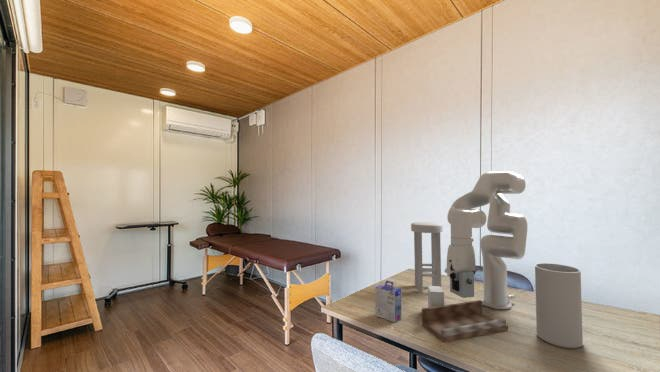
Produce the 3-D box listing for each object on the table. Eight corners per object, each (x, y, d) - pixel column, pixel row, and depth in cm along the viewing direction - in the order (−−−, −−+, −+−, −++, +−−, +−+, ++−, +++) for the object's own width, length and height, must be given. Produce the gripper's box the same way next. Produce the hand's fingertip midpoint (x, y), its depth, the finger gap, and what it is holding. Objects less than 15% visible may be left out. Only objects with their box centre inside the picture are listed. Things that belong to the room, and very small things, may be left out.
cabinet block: (460, 290, 113) (460, 267, 113) (476, 297, 105) (476, 273, 106) (450, 291, 111) (449, 268, 112) (465, 298, 104) (464, 274, 104)
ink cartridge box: (402, 318, 117) (401, 283, 117) (395, 323, 113) (395, 286, 113) (381, 311, 124) (381, 278, 124) (374, 316, 119) (374, 281, 120)
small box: (444, 318, 117) (444, 292, 117) (430, 317, 118) (430, 291, 118) (441, 310, 125) (440, 286, 125) (427, 309, 126) (427, 285, 126)
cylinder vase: (569, 353, 91) (567, 274, 91) (528, 335, 102) (527, 265, 103) (590, 344, 96) (588, 270, 96) (549, 328, 107) (548, 261, 108)
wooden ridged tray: (480, 315, 119) (479, 300, 119) (507, 330, 106) (507, 312, 106) (422, 325, 111) (421, 308, 111) (444, 342, 98) (444, 323, 98)
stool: (410, 284, 160) (409, 221, 161) (439, 285, 158) (438, 222, 159) (414, 293, 145) (413, 225, 146) (446, 295, 143) (445, 225, 143)
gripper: (471, 239, 116) (472, 284, 115) (436, 241, 111) (436, 288, 110) (486, 242, 108) (487, 290, 108) (449, 244, 103) (449, 294, 103)
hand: (461, 288), depth 109 cm, fingers closed on cabinet block, 5 cm apart
